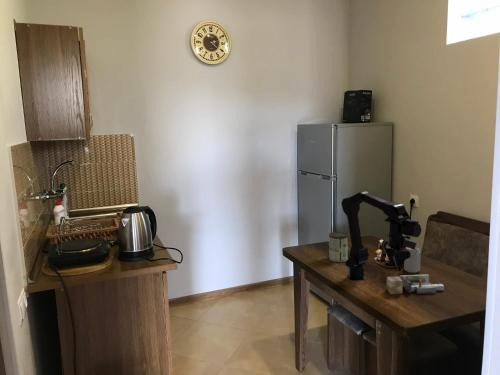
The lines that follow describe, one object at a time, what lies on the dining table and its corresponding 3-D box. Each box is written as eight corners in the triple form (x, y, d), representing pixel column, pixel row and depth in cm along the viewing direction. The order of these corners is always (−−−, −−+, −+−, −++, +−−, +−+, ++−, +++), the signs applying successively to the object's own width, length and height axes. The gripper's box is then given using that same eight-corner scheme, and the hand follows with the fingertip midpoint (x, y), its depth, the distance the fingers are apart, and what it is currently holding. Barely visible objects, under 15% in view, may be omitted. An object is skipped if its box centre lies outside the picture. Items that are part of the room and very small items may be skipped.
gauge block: (390, 294, 178) (391, 281, 177) (386, 289, 183) (387, 276, 182) (402, 293, 178) (402, 280, 177) (397, 289, 183) (398, 276, 182)
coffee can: (332, 254, 232) (332, 231, 230) (350, 257, 227) (350, 233, 225) (326, 260, 224) (325, 235, 222) (344, 263, 218) (344, 237, 216)
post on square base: (408, 292, 178) (408, 282, 177) (404, 288, 183) (404, 278, 182) (445, 291, 178) (445, 281, 177) (439, 286, 183) (440, 277, 182)
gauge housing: (407, 294, 177) (407, 283, 176) (399, 285, 186) (399, 275, 185) (437, 292, 177) (437, 282, 176) (427, 284, 186) (428, 274, 185)
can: (421, 273, 200) (422, 250, 198) (405, 273, 201) (405, 249, 199) (418, 268, 207) (419, 245, 205) (402, 268, 208) (403, 245, 206)
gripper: (423, 237, 167) (422, 274, 169) (406, 226, 185) (405, 259, 187) (396, 238, 167) (396, 275, 169) (381, 227, 185) (381, 260, 187)
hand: (395, 267), depth 178 cm, fingers open, 9 cm apart
